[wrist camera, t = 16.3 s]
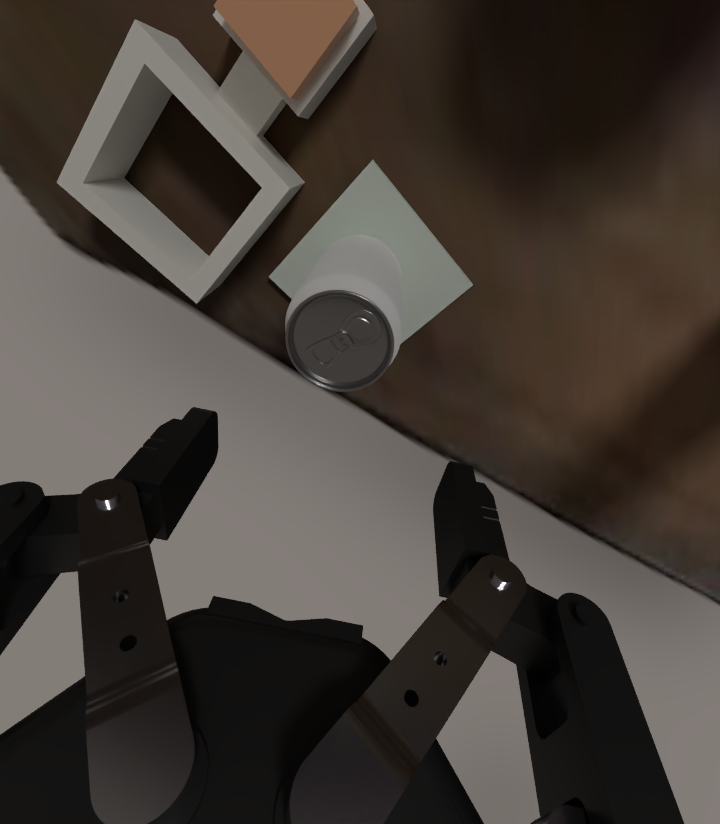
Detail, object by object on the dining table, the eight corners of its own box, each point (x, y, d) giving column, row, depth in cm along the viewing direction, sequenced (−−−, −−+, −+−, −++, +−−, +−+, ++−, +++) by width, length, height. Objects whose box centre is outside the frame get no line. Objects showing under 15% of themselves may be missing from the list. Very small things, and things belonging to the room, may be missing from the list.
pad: (471, 282, 30) (473, 285, 30) (367, 368, 35) (366, 371, 35) (373, 159, 27) (372, 160, 26) (270, 274, 31) (268, 276, 31)
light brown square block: (364, 28, 23) (356, 5, 19) (306, 105, 25) (290, 98, 21) (299, -63, 21) (277, -108, 17) (243, 28, 23) (213, 6, 20)
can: (418, 290, 30) (426, 362, 21) (350, 334, 33) (328, 417, 23) (370, 213, 28) (353, 252, 18) (300, 267, 30) (250, 328, 20)
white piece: (401, 64, 24) (401, 50, 20) (220, 285, 32) (196, 303, 29) (266, -129, 20) (235, -190, 16) (101, 177, 29) (56, 182, 25)
